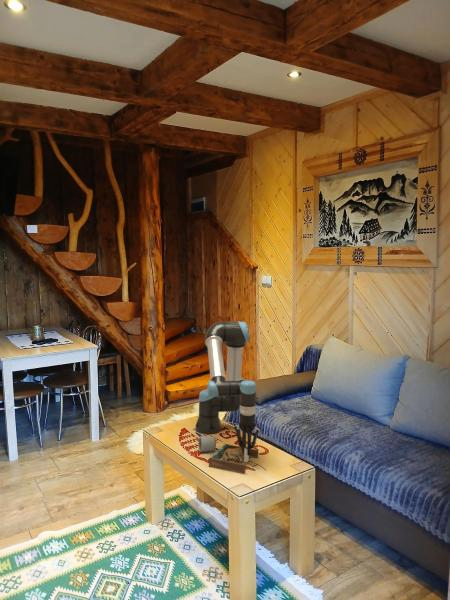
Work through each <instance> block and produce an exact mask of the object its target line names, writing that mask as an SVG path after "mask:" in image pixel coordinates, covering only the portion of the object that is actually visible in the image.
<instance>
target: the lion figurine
mask: <svg viewBox="0 0 450 600" xmlns="http://www.w3.org/2000/svg"><path fill="white" fill-rule="evenodd" d="M237 446H238V447H237V448H235V449H230V448H229V449H227V450H225V452H224V455H223V457H222V458H221V460H225V461H228V459H230V460H233V459H234V457H235V456H238V458H239V460H240V462H241V463H243V462H244V454H242V447H241V446H239V445H237ZM246 447H247V446H246Z"/></svg>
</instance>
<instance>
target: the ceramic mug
mask: <svg viewBox="0 0 450 600" xmlns="http://www.w3.org/2000/svg"><path fill="white" fill-rule="evenodd" d="M216 449H217V439H216V437H215V436H202V435H200V436H199V437H198V450H199V452H200V453H205V452H214V451H215V450H216Z"/></svg>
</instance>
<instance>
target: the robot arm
mask: <svg viewBox="0 0 450 600" xmlns="http://www.w3.org/2000/svg"><path fill="white" fill-rule="evenodd" d="M248 327H249V326H248V324H247V323H246V322H245V321H217V322H215V323H213V324H211V325H210V327H209V328H207V331H206V333H205V336H204V344H205V346H206V347H207V354H208V356H207V357H208V365H209V366H208V367H209V377H210V380H208V382H207V383H206V385H207V387H206V389H203V390H202V391H200V392H199V393H198V394H199V395H198V417H197V420H196V423H195V431H196V432H197V433H200V434H205V435H213V434H217V433H220V432H221V431H222V423H221V419H220V415H219V414H220V413H229V412H233V413H236V412H239V422H238V424H236V425H234V427H233V429H234V431H235V434H236V439H237V443H238V446H241V447H242V454H244V458H243V462H244V463H248V462H249V461H250V459H249V458H250V457H249V455H250V454H251V449H255V446H256V443H257V439H258V436H259V433H260V432H261V428H258V427H257V425H256V400H257V399H256V397H257V395H256V394H257V392H256V391H257V384H256V382H255V381H252V380H247V379H245V378H242V370H243V351H244V348H245V347H246V346H247V345H246V344H247V343H249V342H250V333H249V328H248ZM223 343H225V344H224V345H225V346H226V348H227V355H226V356H227V357H226V359H227V360H226V372H225V365H224V363H225V362H224V357H223V349H222V344H223ZM225 373H226V374H225ZM253 431H254V434H253V437H252V433H253ZM246 446H247V447H246Z"/></svg>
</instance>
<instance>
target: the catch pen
mask: <svg viewBox="0 0 450 600" xmlns="http://www.w3.org/2000/svg"><path fill="white" fill-rule="evenodd" d="M238 446H239V445H233V444H229V443H224V445H222V446H221V447H220V448H219V449H218V450H217V451H215V453H213V454H212V455H211V456H210V457H209V458H208V467H209V468H215V469H219V470H223V471H227V472H233V473H239V474H246V464H245V463H240V462H235V461H229V460H226V461H225V460H222V458H223V457H224V452H225V450H227V449H229V448H230V449H235V448H237V447H238ZM249 458H251V459H252V458H253V459H259V449H256V448H251V454H250V455H249Z"/></svg>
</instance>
